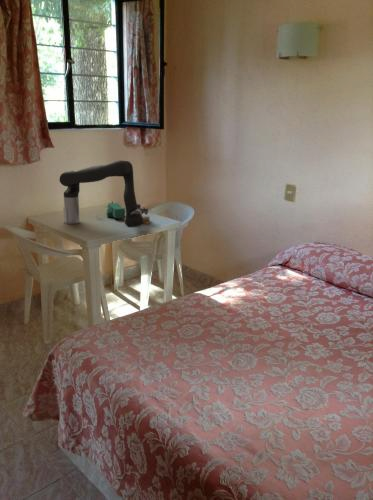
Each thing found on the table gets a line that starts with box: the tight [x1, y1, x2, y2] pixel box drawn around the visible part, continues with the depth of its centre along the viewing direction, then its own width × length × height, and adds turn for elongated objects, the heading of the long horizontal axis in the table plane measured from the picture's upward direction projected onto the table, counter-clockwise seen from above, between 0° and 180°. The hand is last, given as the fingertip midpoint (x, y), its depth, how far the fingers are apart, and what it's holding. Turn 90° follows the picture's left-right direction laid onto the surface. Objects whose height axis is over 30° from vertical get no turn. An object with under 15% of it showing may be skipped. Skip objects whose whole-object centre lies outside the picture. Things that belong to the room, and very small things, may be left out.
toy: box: [106, 201, 126, 219], centre depth 304 cm, size 12×10×30 cm
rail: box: [124, 215, 151, 225], centre depth 289 cm, size 16×10×3 cm, turn 93°
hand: (137, 208), depth 288 cm, fingers open, 8 cm apart
